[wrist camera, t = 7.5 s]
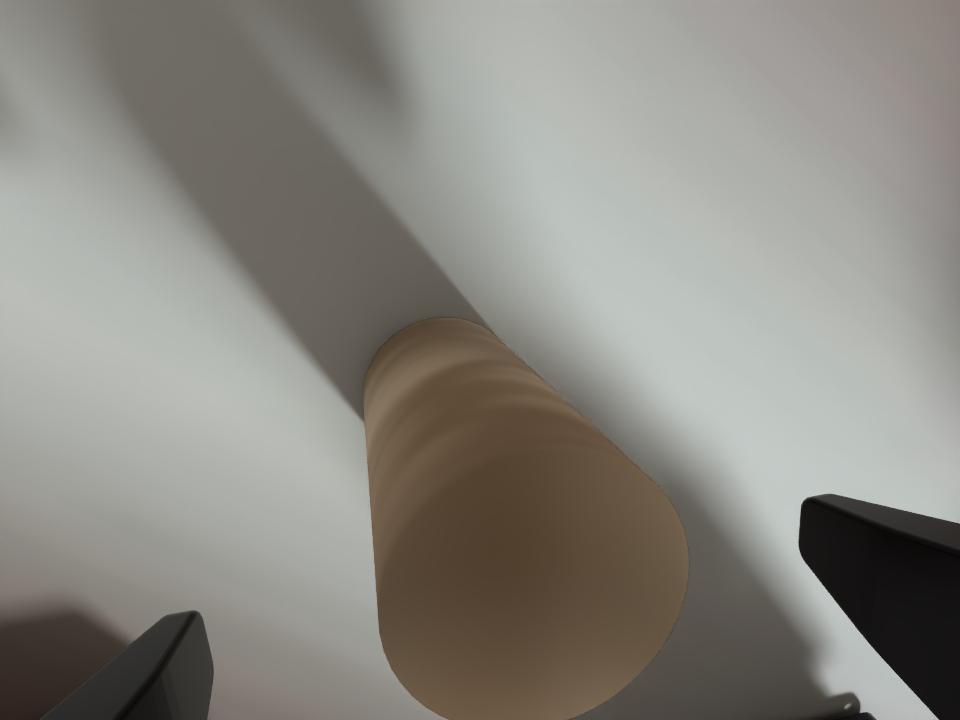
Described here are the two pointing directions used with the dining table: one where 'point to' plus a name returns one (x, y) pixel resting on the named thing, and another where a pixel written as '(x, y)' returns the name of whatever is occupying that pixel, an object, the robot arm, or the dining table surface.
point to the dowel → (508, 535)
